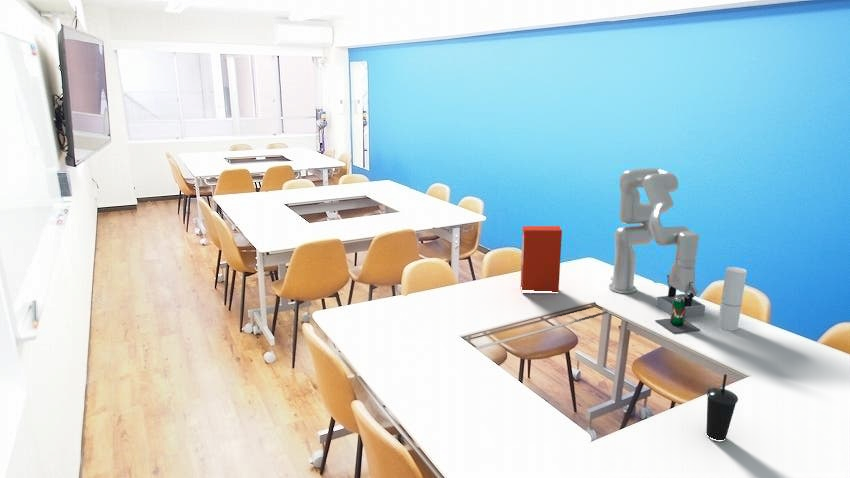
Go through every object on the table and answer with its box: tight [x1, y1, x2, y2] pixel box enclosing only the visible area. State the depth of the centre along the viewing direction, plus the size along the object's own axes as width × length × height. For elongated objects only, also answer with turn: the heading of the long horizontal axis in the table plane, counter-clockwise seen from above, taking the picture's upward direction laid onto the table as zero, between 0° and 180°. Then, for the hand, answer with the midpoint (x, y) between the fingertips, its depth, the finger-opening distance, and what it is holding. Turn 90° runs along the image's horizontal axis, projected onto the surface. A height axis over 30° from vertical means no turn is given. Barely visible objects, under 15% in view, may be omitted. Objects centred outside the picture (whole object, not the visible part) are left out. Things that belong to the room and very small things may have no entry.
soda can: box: [670, 294, 686, 326], centre depth 218 cm, size 5×5×12 cm
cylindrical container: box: [717, 266, 748, 332], centre depth 214 cm, size 7×7×25 cm
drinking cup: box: [705, 374, 739, 440], centre depth 148 cm, size 8×8×20 cm
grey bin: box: [656, 293, 706, 319], centre depth 233 cm, size 14×14×4 cm
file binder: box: [520, 225, 563, 293], centre depth 254 cm, size 8×17×32 cm, turn 86°
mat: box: [654, 317, 701, 335], centre depth 219 cm, size 12×12×1 cm
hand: (679, 301), depth 217 cm, fingers open, 9 cm apart
